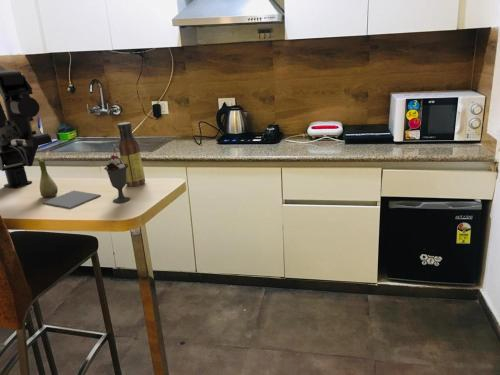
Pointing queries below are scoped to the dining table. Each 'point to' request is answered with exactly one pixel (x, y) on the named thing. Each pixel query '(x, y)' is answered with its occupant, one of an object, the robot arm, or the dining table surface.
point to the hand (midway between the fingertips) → (30, 165)
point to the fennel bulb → (46, 182)
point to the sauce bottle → (130, 155)
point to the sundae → (117, 176)
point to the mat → (71, 199)
